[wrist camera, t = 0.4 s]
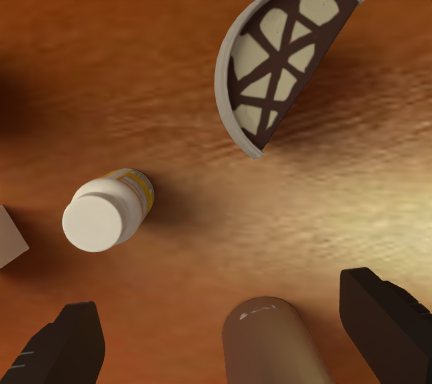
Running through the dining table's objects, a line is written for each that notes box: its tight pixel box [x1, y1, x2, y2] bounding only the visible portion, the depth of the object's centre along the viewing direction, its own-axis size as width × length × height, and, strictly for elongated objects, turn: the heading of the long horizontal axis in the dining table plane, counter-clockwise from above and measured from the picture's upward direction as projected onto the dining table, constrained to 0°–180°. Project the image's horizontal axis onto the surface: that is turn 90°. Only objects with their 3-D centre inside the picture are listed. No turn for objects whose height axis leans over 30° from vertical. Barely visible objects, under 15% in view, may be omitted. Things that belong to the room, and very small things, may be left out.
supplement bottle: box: [62, 168, 154, 252], centre depth 24 cm, size 5×5×10 cm
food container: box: [215, 0, 364, 159], centre depth 22 cm, size 12×6×10 cm, turn 147°
